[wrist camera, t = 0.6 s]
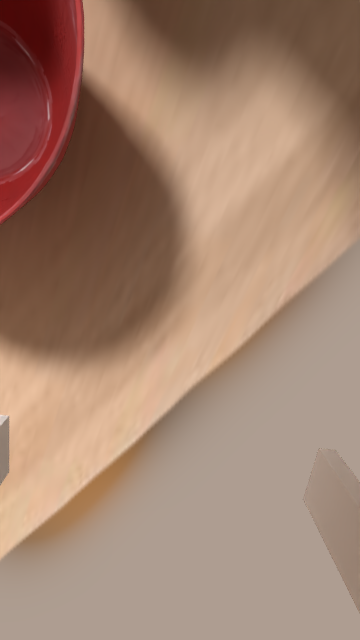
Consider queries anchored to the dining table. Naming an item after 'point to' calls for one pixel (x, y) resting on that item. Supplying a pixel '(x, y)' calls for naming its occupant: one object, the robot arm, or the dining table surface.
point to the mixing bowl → (36, 93)
